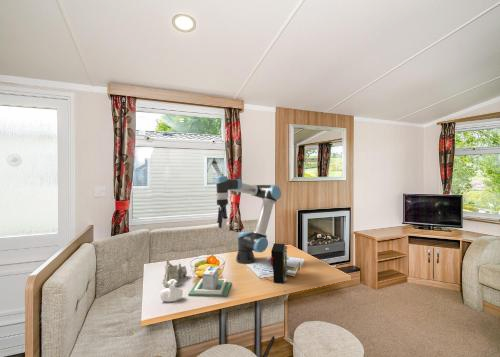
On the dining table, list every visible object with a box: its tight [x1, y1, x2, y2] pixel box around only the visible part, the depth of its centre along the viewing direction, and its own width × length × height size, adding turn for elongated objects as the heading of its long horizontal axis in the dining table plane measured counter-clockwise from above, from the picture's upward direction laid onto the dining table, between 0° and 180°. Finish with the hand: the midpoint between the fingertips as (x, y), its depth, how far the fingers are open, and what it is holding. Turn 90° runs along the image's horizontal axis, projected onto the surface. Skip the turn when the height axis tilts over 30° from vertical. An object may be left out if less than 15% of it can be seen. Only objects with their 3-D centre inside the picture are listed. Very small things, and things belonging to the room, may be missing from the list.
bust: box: [159, 279, 184, 303], centre depth 124 cm, size 12×8×11 cm
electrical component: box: [269, 243, 288, 284], centre depth 150 cm, size 18×10×20 cm, turn 168°
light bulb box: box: [202, 266, 220, 290], centre depth 133 cm, size 11×7×11 cm, turn 171°
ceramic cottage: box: [162, 258, 188, 289], centre depth 145 cm, size 16×16×15 cm
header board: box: [188, 278, 232, 298], centre depth 134 cm, size 16×22×3 cm
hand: (222, 230), depth 151 cm, fingers open, 13 cm apart
